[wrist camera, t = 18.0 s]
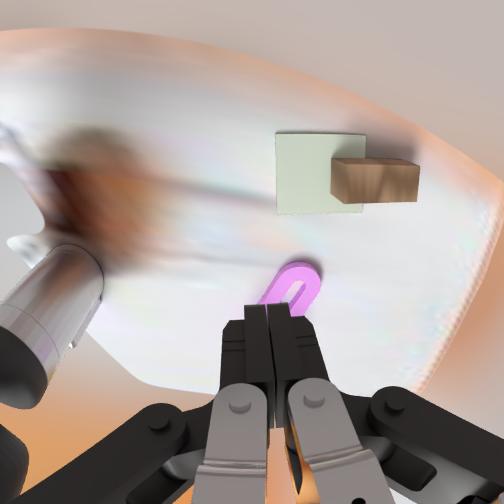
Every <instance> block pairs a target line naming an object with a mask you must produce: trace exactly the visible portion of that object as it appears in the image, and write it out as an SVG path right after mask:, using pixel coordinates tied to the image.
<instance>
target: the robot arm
mask: <svg viewBox="0 0 504 504" xmlns="http://www.w3.org/2000/svg"><path fill="white" fill-rule="evenodd" d="M103 285H104V283H103V276H102V272H101V270H100V268H99V265H98V264H97V262H96V261H95V259H94V258H93V257H92V256H91V255H90V254H89V253H87V252H86V251H85V250H83V249H81V248H79V247H77V246H74V245H68V244H64V245H60V246H58V247H56V248H54V249H53V250H52V251H51V252H50V253H48V254H47V255H46V257H45V258H43V259H42V260H41V261H40V262H39V263H38V264H37V265H36V266H35V267H34V268H33V269H32V270H31V271H30V272H29V273H28V274H27V275H26V276H25V277H24V278H23V279H22V280H21V281H20V282H19V283H18V284H17V285H16V286H15V287H14V288H13V289H12V290H11V291H10V292H9V293H8V294H7V295H6V296H5V297H4V298H3V299H2V301H1V302H0V402H1V403H3V404H6V405H9V406H11V407H14V408H18V409H31V408H33V407H35V406H36V405H37V404H38V403H39V402H40V400H41V398H42V397H43V395H44V393H45V391H46V389H47V386H48V384H49V382H50V380H51V379H52V377H53V375H54V373H55V371H56V369H57V367H58V366H59V364H60V362H61V360H62V358H63V356H64V355H65V353H66V351H67V349H68V348H75V347H76V346H77V344H78V342H79V340H80V339H81V337H82V335H83V333H84V331H85V330H86V328H87V326H88V325H89V323H90V321H91V319H92V318H93V316H94V314H95V313H96V311H97V309H98V308H99V306H100V304H101V301H100V295H101V293H102V291H103ZM244 317H245V320H229V322H228V323H227V325H226V326H225V328H224V329H223V336H222V353H221V372H220V388H219V391H218V393H217V394H216V396H215V398H214V399H213V400H212V401H211V402H209V403H208V404H206V405H204V406H202V407H199V408H196V409H192V410H188V411H184V412H182V411H181V410H180V409H179V408H177V407H176V406H173V405H171V404H166V403H157V404H152V405H149V406H147V407H145V408H144V409H142V410H141V411H139V412H138V413H137V414H136V415H134V416H133V417H132V418H130V419H129V420H128V421H126V422H125V423H124V424H122V425H121V426H120V427H118V428H117V429H116V430H114V431H113V432H112V433H110V434H109V435H107V436H106V437H105V438H103V439H102V440H101V441H99V442H98V443H96V444H95V445H94V446H92V447H91V448H89V449H88V450H87V451H85V452H84V453H82V454H81V455H80V456H78V457H77V458H75V459H74V460H72V461H71V462H69V463H68V464H67V465H65V466H64V467H62V468H61V469H59V470H58V471H56V472H55V473H53V474H52V475H50V476H49V477H47V478H46V479H45V480H43V481H41V482H40V483H38V484H37V485H35V486H34V487H32V488H31V489H29V490H28V491H26V492H24V493H23V494H21V495H20V493H21V491H22V488H23V485H24V482H25V478H26V475H27V471H28V465H29V453H28V450H27V447H26V446H25V444H24V443H23V442H22V441H21V440H20V439H19V438H17V437H16V436H15V435H13V434H12V433H11V432H10V431H9V430H7V429H6V428H5V427H4V426H2V425H1V424H0V504H172V503H173V502H175V501H176V500H177V499H178V498H179V497H180V496H181V495H182V494H183V493H184V492H186V491H187V490H188V489H189V488H190V487H191V486H192V485H193V484H194V489H193V494H192V500H191V504H267V450H268V448H269V444H270V440H269V439H270V429H271V428H274V412H275V421H276V428H281V427H284V433H285V452H286V457H287V461H288V466H289V470H290V475H291V479H292V483H293V488H294V493H295V498H296V504H395V501H394V499H393V496H392V494H391V491H390V489H389V487H390V488H391V489H393V490H395V491H397V492H398V493H400V494H402V495H403V496H405V497H407V498H408V499H410V500H412V501H414V502H415V503H417V504H504V439H502V438H500V437H498V436H496V435H494V434H492V433H490V432H488V431H486V430H484V429H482V428H479V427H478V426H476V425H474V424H472V423H470V422H468V421H466V420H464V419H462V418H460V417H458V416H456V415H454V414H452V413H450V412H448V411H446V410H444V409H442V408H441V407H439V406H436V405H435V404H433V403H431V402H429V401H427V400H425V399H423V398H421V397H420V396H418V395H416V394H414V393H412V392H410V391H409V390H407V389H404V388H402V387H397V386H389V387H384V388H382V389H380V390H378V391H377V392H376V393H375V394H374V395H373V396H372V397H362V396H353V395H348V394H345V393H343V392H341V391H339V390H338V389H337V387H336V386H335V385H334V384H332V383H331V382H330V380H329V377H328V374H327V370H326V367H325V364H324V360H323V357H322V354H321V350H320V347H319V344H318V340H317V337H316V334H315V331H314V327H313V324H312V323H311V322H310V321H309V320H308V319H307V318H306V317H305V316H293V317H291V314H290V309H289V305H288V303H272V304H267V315H266V307H265V304H256V305H244Z"/></svg>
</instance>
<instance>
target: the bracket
mask: <svg viewBox="0 0 504 504" xmlns="http://www.w3.org/2000/svg"><path fill="white" fill-rule="evenodd" d="M297 280H301V281H303V282H304V284H303V285H302V287H301V288H300V290H299V291H298V293H297V294H296V296H295V297H294V298H293V300H292V301H291V303H290V304H289V309H290V314H291V317H293V316H302V315H303V314H304V313H305V311H306V310H307V309H308V307H309V306H310V304H311V303H312V302H313V300H314V299H315V297H316V296H317V294H318V293H319V291H320V287H321V281H320V278H319V275H318V273H317V271H316V270H315V268H314V267H313V266H311V265H310V264H308V263H305V262H293V263H289V264H287V265H285V266H284V267H282V268H281V269H280V270H279V272H278V273H277V275H276V276H275V278H274V279H273V281H272V283H271V284H270V286H269V287H268V289H267V291H266V292H265V294H264V295H263V297H262V298H261V300H260V302H259V303H258V304H265V307H266V315H267V304H272V303H280V301H281V300H282V298H283V297H284V295H285V294H286V292H287V291H288V289H289V288H290V286H291V285H292V283H293V282H295V281H297Z"/></svg>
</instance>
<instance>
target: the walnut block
mask: <svg viewBox="0 0 504 504" xmlns="http://www.w3.org/2000/svg"><path fill="white" fill-rule="evenodd" d="M419 174H420V166H418V165H416V164H413V163H410V162H407V161H404V160H401V159H377V158H331V189H330V194H331V195H333V196H334V197H335V198H337V199H338V200H339V201H340V202H342V203H343V204H361V203H388V202H417V195H418V185H419Z"/></svg>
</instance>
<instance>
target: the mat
mask: <svg viewBox="0 0 504 504" xmlns="http://www.w3.org/2000/svg"><path fill="white" fill-rule="evenodd" d="M275 148H276V190H277V216H279V215H305V214H335V213H362V209H363V203H361V204H343V203H342V202H340V201H339V200H338V199H337V198H335V197H334V196H333V195H331V194H330V189H331V158H365V153H366V136H365V135H346V134H275Z"/></svg>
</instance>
